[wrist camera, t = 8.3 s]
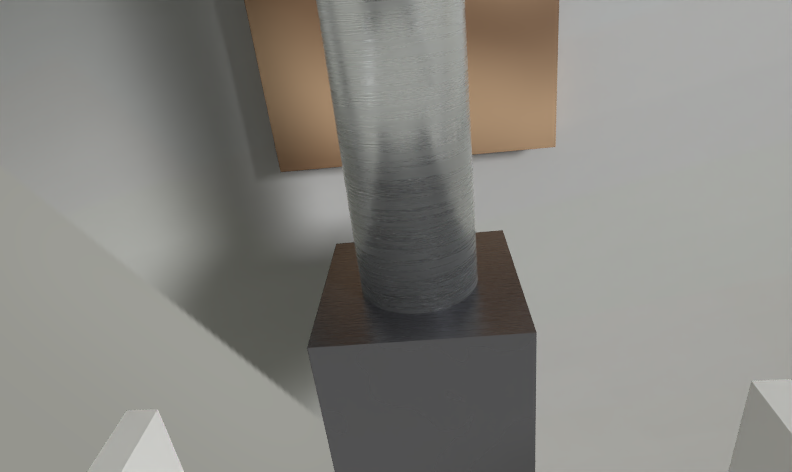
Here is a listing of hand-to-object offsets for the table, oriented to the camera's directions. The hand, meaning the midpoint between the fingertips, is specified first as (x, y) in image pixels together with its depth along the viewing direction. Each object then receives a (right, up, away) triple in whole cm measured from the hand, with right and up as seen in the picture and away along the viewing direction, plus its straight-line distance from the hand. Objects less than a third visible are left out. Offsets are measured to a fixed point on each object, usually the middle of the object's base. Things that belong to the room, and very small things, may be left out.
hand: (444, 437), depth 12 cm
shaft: (-1, +11, 0) cm, 11 cm away
